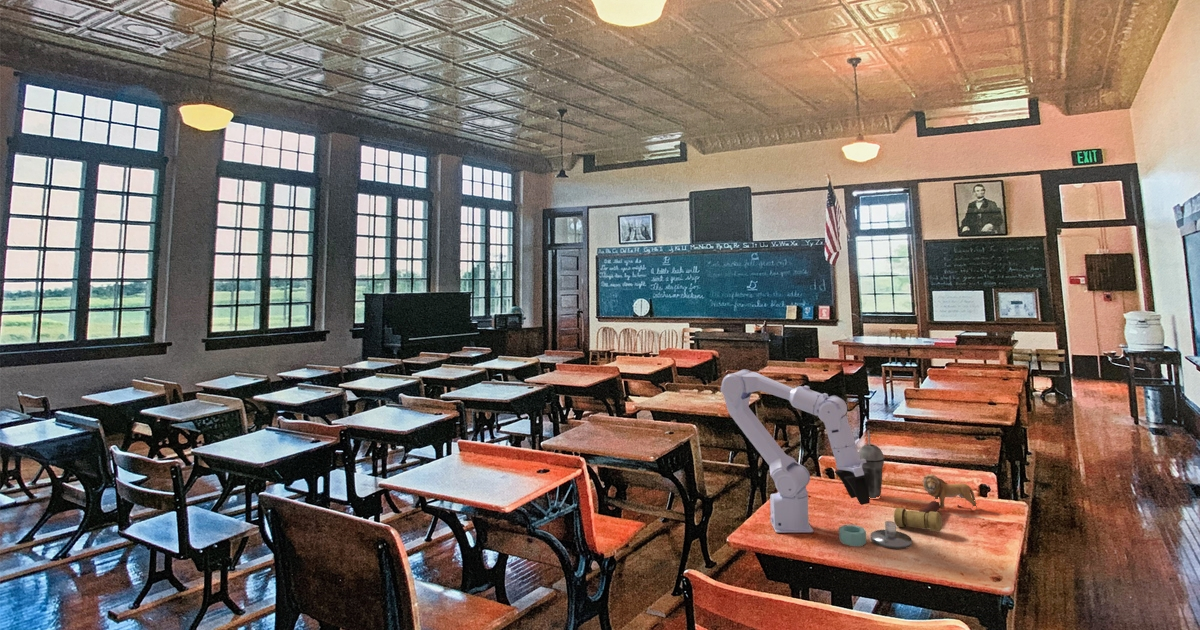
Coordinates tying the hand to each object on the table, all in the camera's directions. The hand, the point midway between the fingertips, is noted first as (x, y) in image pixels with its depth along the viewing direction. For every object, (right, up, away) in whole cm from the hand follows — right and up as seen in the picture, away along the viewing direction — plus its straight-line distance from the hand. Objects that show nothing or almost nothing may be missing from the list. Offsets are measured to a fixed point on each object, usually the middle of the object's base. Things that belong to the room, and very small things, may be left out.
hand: (860, 500), depth 147 cm
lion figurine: (+32, -8, +17) cm, 37 cm away
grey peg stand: (+7, -10, -1) cm, 12 cm away
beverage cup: (+16, -8, +29) cm, 35 cm away
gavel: (+22, -8, +10) cm, 26 cm away
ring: (-2, -10, 0) cm, 10 cm away
